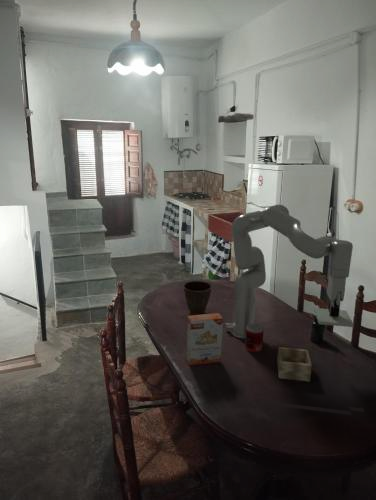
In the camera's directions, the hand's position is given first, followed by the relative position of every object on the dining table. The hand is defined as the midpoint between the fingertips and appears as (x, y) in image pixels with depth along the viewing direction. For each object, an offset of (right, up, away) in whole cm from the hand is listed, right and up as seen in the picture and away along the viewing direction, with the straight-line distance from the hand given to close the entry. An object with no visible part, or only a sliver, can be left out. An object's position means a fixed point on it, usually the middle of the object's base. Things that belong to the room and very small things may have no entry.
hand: (333, 313), depth 157 cm
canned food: (-30, -20, +18) cm, 40 cm away
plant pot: (-55, -9, +54) cm, 78 cm away
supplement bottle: (+2, -18, +28) cm, 33 cm away
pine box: (-17, -25, 0) cm, 30 cm away
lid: (0, -2, +1) cm, 2 cm away
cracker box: (-53, -22, +8) cm, 58 cm away
